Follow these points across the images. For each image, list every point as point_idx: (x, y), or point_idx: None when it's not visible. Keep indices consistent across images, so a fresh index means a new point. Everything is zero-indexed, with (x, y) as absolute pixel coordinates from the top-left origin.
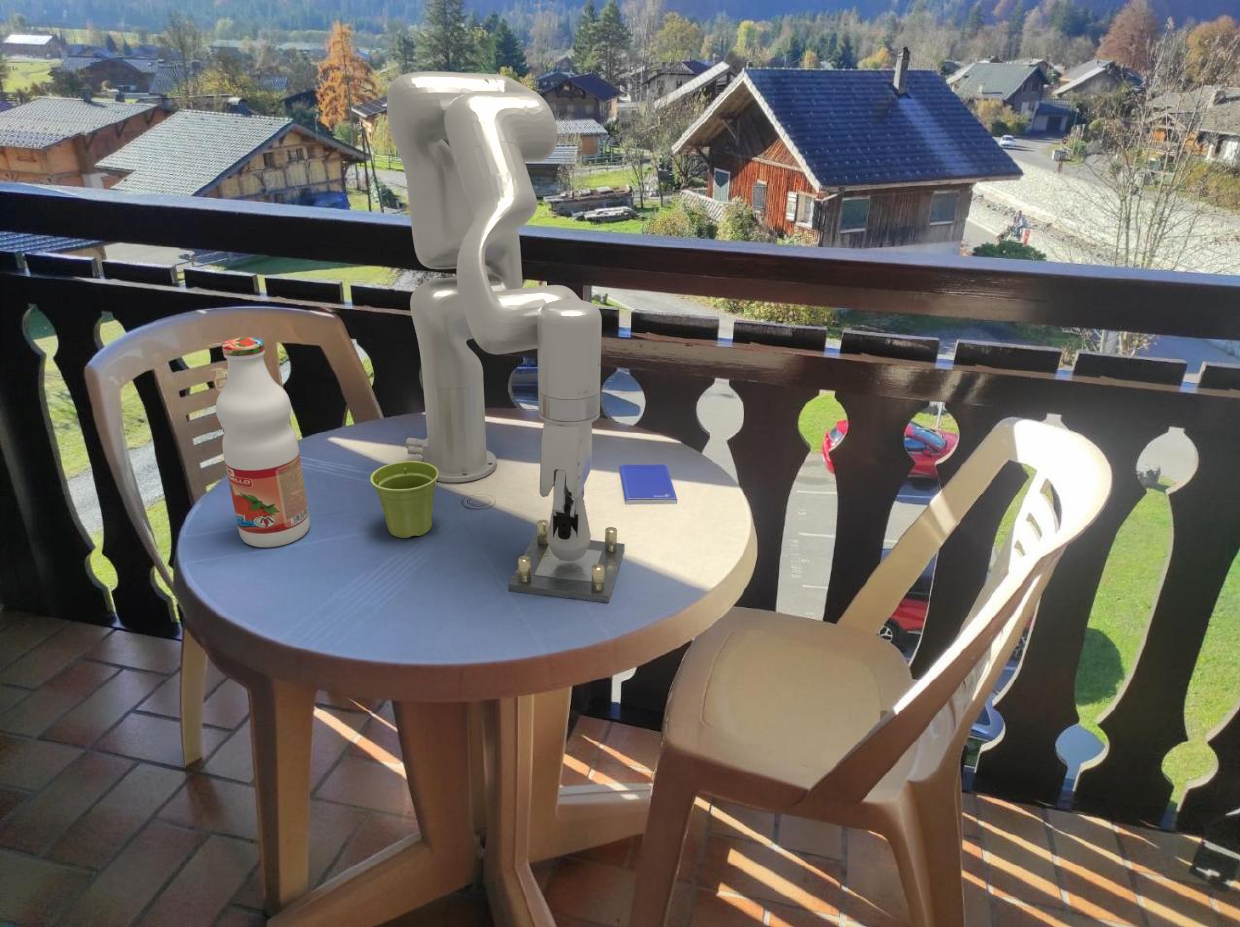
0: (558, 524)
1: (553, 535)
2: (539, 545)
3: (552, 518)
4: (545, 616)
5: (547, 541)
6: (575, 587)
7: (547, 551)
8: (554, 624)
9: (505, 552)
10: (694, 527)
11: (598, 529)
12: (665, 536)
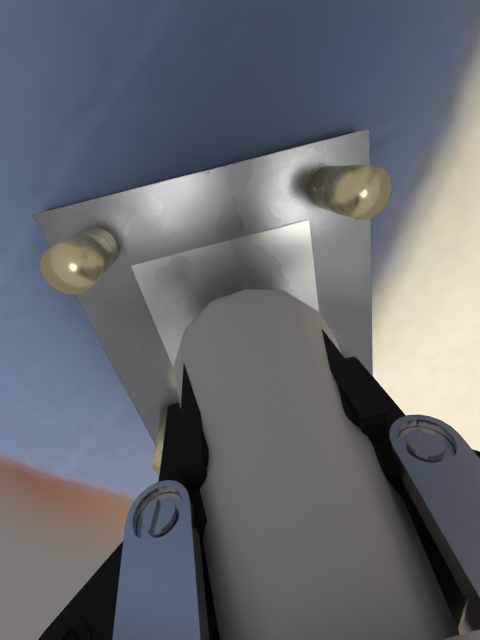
0: (162, 459)
1: (184, 370)
2: (299, 190)
3: (218, 398)
4: (23, 356)
5: (207, 306)
6: (144, 382)
7: (271, 236)
8: (13, 385)
9: (244, 59)
10: (474, 440)
11: (449, 287)
12: (434, 415)
